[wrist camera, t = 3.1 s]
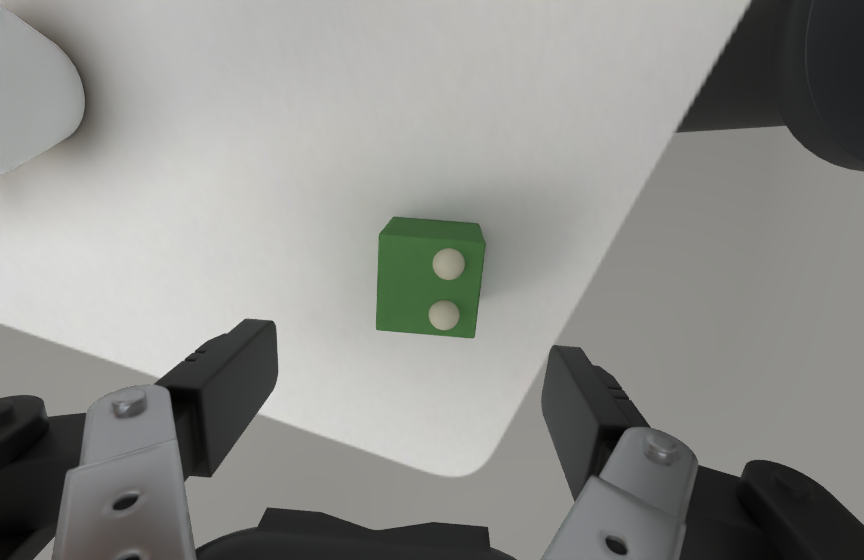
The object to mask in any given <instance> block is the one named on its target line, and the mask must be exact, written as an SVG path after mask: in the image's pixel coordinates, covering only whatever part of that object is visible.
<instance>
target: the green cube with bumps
mask: <svg viewBox="0 0 864 560" xmlns="http://www.w3.org/2000/svg"><path fill="white" fill-rule="evenodd" d="M485 245H486V243H485V240H484V237H483V235H482V232H481V229H480V226H479V224H476V223H464V222H451V221H439V220H427V219H414V218H402V217H393V218H392V219H391V220H390V222H389V223H388V224H387V225H386V226H385V228H384V229H383V230H382V231H381V233H380V234H379V250H378V281H377V313H376V329H377V330H382V331H393V332H405V333H417V334H428V335H440V336H451V337H463V338H474V337H475V330H476V322H477V313H478V305H479V296H480V288H481V279H482V271H483V262H484V254H485Z"/></svg>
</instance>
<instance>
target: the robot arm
mask: <svg viewBox="0 0 864 560" xmlns="http://www.w3.org/2000/svg"><path fill="white" fill-rule="evenodd" d="M277 377H278V354H277V333H276V325H275V323H274V322H273V321H269V320H258V319H244V320H243V321H242V322H241V323H239V324H238V325H237V326H236V327H235V328H234V329H232V330H231V331H230V332H229V333H228V334H225V333H224V334H222V335H220V336H218V337H215V338H213V339H211V340H208V341H207V342H205V343H204V344H203V345H202V346H200V347H199V348H198V349H197V350H195V353H192V354H190V355H189V356H188V357H187V358H185V361H182V362H181V363H179V364H178V365H177V366H176V367H174V368H173V369H172V370H171V371H169V372H168V373H167V374H166V375H164V376H163V377H162V378H161V379H159V380H158V381H157V382H156V383H155V384H153V385H136V386H130V387H126V388H123V389H119V390H117V391H114V392H111V393H109V394H107V395H105V396H103V397H101V398H100V399H98V400H97V401H96V402H94V403H93V404H92V405H91V406H90V407H89V409H88V411H87V413H80V414H70V415H61V416H52V417H47V413H46V409H45V405H44V401H43V400H42V399H41V398H39V397H36V396H30V395H18V396H10V397H4V398H0V560H33V559H34V558H35V557H36V556H37V555H38V553H40V551H41V550H42V549H43V548H44V547H45V546H46V545H47V544H48V543H49V542H50V541H51V540H52V538H54V537H55V542H54V547H53V554H52V560H517V559H515V558H514V557H512V556H510V555H508V554H505V553H504V552H501V551H499V550H497V549H494V548H491V547H490V541H489V532H488V527H482V526H471V525H460V524H449V523H437V522H431V523H425V524H418V525H411V526H405V527H397V528H391V529H384V530H372V529H368V528H365V527H362V526H359V525H357V524H353V523H351V522H348V521H345V520H342V519H339V518H336V517H333V516H331V515H328V514H325V513H322V512H313V511H300V510H290V509H279V508H278V509H277V508H267V509H266V511H265V513H264V515H263V517H262V519H261V521H260V523H259V525H258V527H254V528H249V529H245V530H240V531H236V532H233V533H230V534H228V535H225V536H222V537H220V538H217V539H215V540H213V541H211V542H208V543H206V544H205V545H203V546H201V547H199V548H197V549H195V546H194V540H193V534H192V527H191V521H190V515H189V509H188V503H187V496H186V490H185V485H184V482H185V481H186V479H187V478H188V477H189V476H198V477H211V476H212V475H213V474H214V472H215V471H216V469H217V468H218V467H219V465H220V464H221V463H222V461H223V460H224V458H225V457H226V456H227V454H228V453H229V451H230V450H231V449H232V447H233V446H234V444H235V443H236V441H237V440H238V439H239V437H240V436H241V435H242V433H243V432H244V430H245V429H246V427H247V426H248V425H249V423H250V422H251V421H252V419H253V418H254V416H255V415H256V414H257V412H258V411H259V409H260V408H261V407H262V405H263V404H264V402H265V401H266V400H267V398H268V397H269V395H270V394H271V393H272V391H273V389H274V387H275V385H276V381H277ZM541 401H542V412H543V416H544V419H545V421H546V424H547V427H548V430H549V432H550V435H551V438H552V440H553V444H554V446H555V449H556V452H557V454H558V457H559V460H560V463H561V466H562V468H563V471H564V473H565V477H566V479H567V482H568V485H569V488H570V490H571V493H572V496H573V499H574V501H575V503H574V504H573V506H572V508H571V510H570V511H569V513H568V514H567V516H566V518H565V519H564V521H563V523H562V524H561V526H560V528H559V529H558V531H557V533H556V534H555V536H554V538H553V540H552V541H551V543H550V545H549V546H548V548H547V550H546V551H545V553H544V555H543V556H542V558H541V560H864V525H863V524H862V523H861V522H860V521H859V520H858V519H857V518H856V517H855V516H854V515H852V513H851V512H849V511H848V510H847V509H846V508H845V507H844V506H843V505H842V504H841V503H840V502H839V501H838V500H837V499H836V498H835V497H834V496H833V495H832V494H831V493H830V492H828V491H827V490H826V489H825V488H824V487H823V486H821V485H820V484H819V483H817V482H816V481H814V480H812V479H811V478H810V477H808V476H806V475H804V474H803V473H801V472H798V471H797V470H794V469H792V468H790V467H787V466H785V465H782V464H779V463H775V462H771V461H766V460H753V461H750V462H748V463H747V464H746V465H745V468H744V470H743V473H742V475H741V478H740V477H737V476H734V475H730V474H726V473H723V472H720V471H717V470H713V469H710V468H706V467H703V466H700V465H698V460H697V458H696V456H695V454H694V453H693V452H692V450H690V449H689V447H688V446H686V445H685V444H684V443H683V442H681V441H680V440H678V439H677V438H675V437H673V436H671V435H669V434H667V433H665V432H662V431H660V430H656V429H653V428H651V427H650V426H649V424H648V423H647V422H646V420H645V419H644V418H643V416H642V415H641V413H640V412H639V411H638V410H637V408H636V407H635V405H634V404H633V403H632V401H631V400H629V397H628V396H627V394H626V393H625V392H624V391H623V390H622V387H621V386H620V385H619V384H618V382H617V381H616V379H615V378H614V377H613V376H612V375H611V374H609V373H608V372H606V371H605V370H604V369H602V368H601V367H600V366H594V365H592V364H591V362H590V361H589V359H588V358H587V356H586V355H585V353H584V352H583V350H582V349H581V348H580V347H570V346H557V345H553V346H552V348H551V350H550V353H549V358H548V364H547V370H546V374H545V380H544V385H543V390H542V399H541ZM55 535H56V536H55Z"/></svg>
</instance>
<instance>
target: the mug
mask: <svg viewBox="0 0 864 560" xmlns="http://www.w3.org/2000/svg"><path fill="white" fill-rule="evenodd" d="M84 108H85V96H84V89H83V85H82V82H81V79H80V76H79V74H78V72H77V70H76V68H75V66H74V65H73V63H72V61H71V60H70V59H69V57H68V56H67V55H66V54H65V52H64V51H63V50H62V49H61V48H60V47H59V46H57V45H56V44H55V43H54V42H52V41H51V40H49V39H48V38H46V37H45V36H44V35H42V34H41V33H39V32H38V31H37V30H35V29H34V28H32V27H31V26H30V25H28V24H27V23H25V22H24V21H23V20H21V19H20V18H18V17H17V16H16V15H14V14H13V13H11V12H10V11H9V10H7V9H6V8H4V7H3V6H2V5H0V176H2V175H4V174H6V173H8V172H10V171H12V170H14V169H15V168H17V167H19V166H20V165H22V164H24V163H25V162H27V161H29V160H31V159H32V158H34V157H36V156H37V155H39V154H41V153H42V152H44V151H46V150H47V149H49V148H51V147H52V146H54V145H56V144H57V143H59V142H61V141H62V140H64V139H66V138H67V137H69V136H70V135H71V134H73V133H74V132H75V130H76V129H77V128H78V126H79V125H80V123H81V120H82V118H83V114H84Z"/></svg>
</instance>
